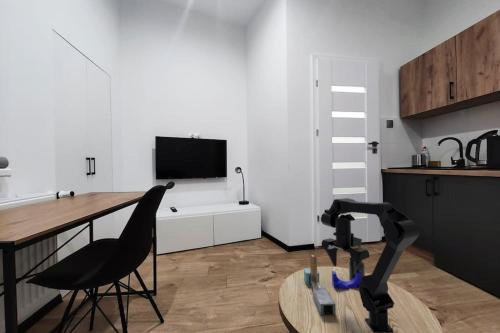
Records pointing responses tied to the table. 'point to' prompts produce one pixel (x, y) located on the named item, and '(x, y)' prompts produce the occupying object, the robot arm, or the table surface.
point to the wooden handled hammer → (313, 271)
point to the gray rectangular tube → (324, 302)
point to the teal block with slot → (307, 274)
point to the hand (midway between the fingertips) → (344, 270)
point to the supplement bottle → (360, 269)
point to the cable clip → (346, 284)
